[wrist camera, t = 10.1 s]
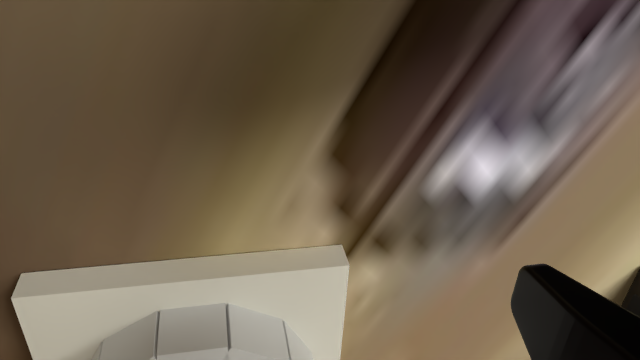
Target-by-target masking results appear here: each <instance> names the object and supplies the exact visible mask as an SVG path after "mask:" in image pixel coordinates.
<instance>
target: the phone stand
mask: <svg viewBox="0 0 640 360" xmlns="http://www.w3.org/2000/svg"><path fill="white" fill-rule="evenodd" d="M621 307H622V308H624V309H626V310H628V311H629V312H631V313H633V314H635V315H636V316H638V317H640V269H639V271H638V273H637V275H636V277H635V279H634V281H633V283H632V285H631V287H630V289H629V291H628V293H627V295H626V297H625V299H624V301H623V303H622V305H621Z"/></svg>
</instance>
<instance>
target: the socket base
mask: <svg viewBox="0 0 640 360" xmlns="http://www.w3.org/2000/svg"><path fill="white" fill-rule="evenodd" d="M348 275H349V263H348V260H347V257H346V255H345V252H344V249H343V246H342V245H331V246H320V247H309V248H298V249H287V250H276V251H264V252H253V253H242V254H231V255H220V256H209V257H197V258H186V259H175V260H164V261H153V262H142V263H130V264H119V265H108V266H97V267H86V268H75V269H64V270H52V271H41V272H30V273H21V275H20V278H19V280H18V282H17V285H16V287H15V290H14V292H13V295H12V297H11V300H12V303H13V306H14V308H15V311H16V314H17V317H18V320H19V322H20V325H21V328H22V331H23V333H24V336H25V339H26V342H27V345H28V347H29V350H30V353H31V356H32V358H33V360H340V354H341V344H342V334H343V324H344V315H345V305H346V295H347V285H348Z"/></svg>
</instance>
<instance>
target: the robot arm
mask: <svg viewBox="0 0 640 360" xmlns="http://www.w3.org/2000/svg"><path fill="white" fill-rule="evenodd" d="M511 309H512V313H513V316H514V318H515V321H516V323H517V326H518V328H519V331H520V333H521V335H522V338H523V340H524V343H525V345H526V348H527V350H528V353H529V355H530V357H531V360H640V317H638V316H636V315H635V314H633V313H631V312H629V311H628V310H626V309H624V308H622V307H621V306H619V305H617V304H615V303H614V302H612V301H610V300H609V299H607V298H605V297H603V296H602V295H600V294H598V293H596V292H595V291H593V290H591V289H589V288H588V287H586V286H584V285H582V284H581V283H579V282H577V281H575V280H574V279H572V278H570V277H568V276H567V275H565V274H563V273H561V272H560V271H558V270H556V269H554V268H553V267H551V266H549V265H547V264H535V265H527V266H523V267H522V268H521V269H520V271H519V273H518V277H517V280H516V284H515V287H514V291H513V294H512V298H511Z"/></svg>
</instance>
